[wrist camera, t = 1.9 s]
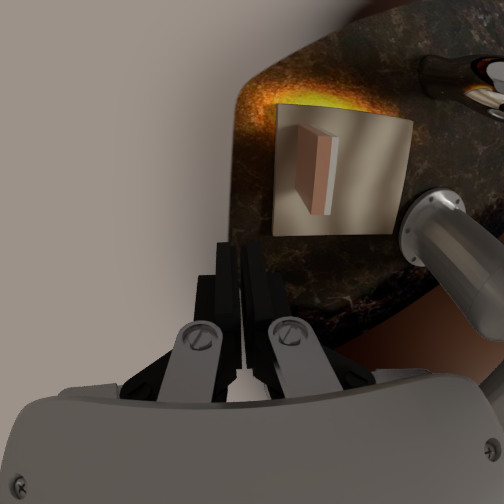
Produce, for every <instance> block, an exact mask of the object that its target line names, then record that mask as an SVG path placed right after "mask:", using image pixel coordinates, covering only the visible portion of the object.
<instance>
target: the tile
mask: <svg viewBox="0 0 504 504" xmlns="http://www.w3.org/2000/svg"><path fill="white" fill-rule="evenodd" d="M338 145H339V137H337V136H336V135H334V134H332V133H330V132H328V131H326V130H324V129H322V128H320V127H318V126H316V125H305V124H298V139H297V157H296V173H295V187H294V188H295V189H296V191H297V192H298V194H299V196H300V197H301V199H302V201H303V202H304V204H305V206H306V207H307V209H308V211H309V213H310V214H311V215H330V213H331V206H332V198H333V190H334V182H335V174H336V165H337V155H338Z"/></svg>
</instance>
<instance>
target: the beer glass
mask: <svg viewBox="0 0 504 504" xmlns="http://www.w3.org/2000/svg"><path fill="white" fill-rule="evenodd" d="M419 80H420V83H421V86H422V88H423V90H424V91H425V92H426V94H427V95H428V96H430V97H431V98H433V99H435V100H439V101H443V100H452V101H456V102H459V103H461V104H463V105H465V106H467V107H469V108H470V109H472V110H474V111H476V112H478V113H480V114H482V115H484V116H486V117H488V118H491V119H493V120H496V121H499V122H502V123H504V56H501V55H495V54H474V55H469V56H463V57H459V58H445V57H441V56H438V55H429V56H426V57H425V58H424V59H423V60H422V61H421V63H420V66H419Z"/></svg>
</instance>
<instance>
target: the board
mask: <svg viewBox="0 0 504 504" xmlns="http://www.w3.org/2000/svg"><path fill="white" fill-rule="evenodd" d="M298 124H305V125H316V126H318V127H320V128H322V129H324V130H326V131H328V132H330V133H332V134H334V135H336V136H337V137H339V145H338V155H337V165H336V174H335V182H334V190H333V198H332V206H331V213H330V215H311V214H310V213H309V211H308V209H307V207H306V206H305V204H304V202H303V201H302V199H301V197H300V196H299V194H298V192H297V191H296V189H295V188H294V187H295V173H296V157H297V139H298ZM412 128H413V121H411V120H408V119H403V118H398V117H393V116H387V115H382V114H376V113H370V112H363V111H356V110H348V109H340V108H331V107H321V106H310V105H295V104H276V135H275V164H274V190H273V213H272V234H273V236H300V235H352V234H392V233H393V229H394V225H395V221H396V216H397V212H398V208H399V203H400V199H401V194H402V189H403V184H404V179H405V174H406V168H407V162H408V156H409V150H410V143H411V136H412Z"/></svg>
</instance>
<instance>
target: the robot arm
mask: <svg viewBox="0 0 504 504" xmlns="http://www.w3.org/2000/svg"><path fill="white" fill-rule="evenodd" d="M399 247H400V250H401V252H402V254H403V256H404V257H405V258H406V260H407V261H408V262H410V263H411V264H413V265H415V266H421V267H422V266H426V267H427V268H428V269H429V271H430V272H431V273H432V274H433V275H434V277H435V278H436V279H437V280H438V282H439V283H440V284H441V285H442V287H443V288H444V289H445V290H446V292H447V293H448V294H449V296H450V297H451V298H452V299H453V301H454V302H455V303H456V305H457V306H458V307H459V309H460V310H461V311H462V313H463V314H464V315H465V317H466V318H467V320H468V321H469V322H470V324H471V325H472V326H473V328H474V329H475V331H477V333H478V334H479V335H480V336H482V337H483V338H485V339H488V340H491V341H504V245H503V244H502V243H501V242H500V241H498V240H497V239H496V238H495V237H494V236H493V235H492V234H490V233H489V232H488V231H487V230H486V229H484V228H483V227H482V226H481V225H480V224H478V223H477V222H476V221H475V220H473V219H472V218H471V217H470V216H468V215H467V214H466V212H465V206H464V203H463V201H462V199H461V198H460V197H459V195H458V194H456V193H455V192H453V191H452V190H450V189H447V188H434V189H432V190H429V191H427V192H425V193H424V194H422V195H421V196H420V197H419V198H417V199H416V200H415V201H414V203H413V204H412V205H411V206H410V207H409V209H408V211H407V212H406V214H405V216H404V218H403V220H402V223H401V226H400V230H399ZM240 251H241V303H242V316H243V328H244V340H245V352H246V364H247V369H251V368H252V369H253V376H255V377H256V378H257V379H259V380H260V381H261V382H263V383H264V389H265V392H266V395H267V398H268V400H263V401H248V402H226V401H227V393H228V385H229V384H231V383H232V382H233V381H234V380H235V379H236V378H237V376H236V369H242V351H241V318H240V317H241V315H240V298H239V284H238V270H237V255H236V246H231V245H230V242H222V243H217V252H216V275H199V276H198V283H197V292H196V302H195V312H194V322H191V323H188V324H186V325H185V326H184V327H183V328H182V329H181V330H180V331H179V333H178V335H177V338H176V341H175V344H174V347H173V349H172V350H171V351H169V352H168V353H166V354H165V355H164V356H162V357H161V358H159V359H158V360H156V361H155V362H154V363H152V364H151V365H149V366H148V367H146V368H145V369H143V370H142V371H140V372H139V373H138V374H136V375H135V376H133V377H132V378H130V379H129V380H128V381H127V382H125V383H124V385H120V386H117V384H116V383H113V384H104V385H94V386H84V387H71V388H67V389H64V390H63V391H61V392H60V393H59V394H58V396H52V397H47V398H42V399H39V400H36V401H33V402H31V403H29V404H28V405H26V406H25V407H24V408H23V409H22V410H21V412H20V413H19V415H18V417H17V418H16V420H15V423H14V425H13V427H12V430H11V432H10V435H9V438H8V441H7V445H6V448H5V452H4V456H3V460H2V465H1V470H0V504H504V360H503V361H502V362H501V363H500V364H499V365H498V366H497V368H495V370H494V371H492V373H491V374H490V375H489V376H488V377H487V378H486V379H485V380H484V381H483V382H481V383H480V385H479V386H477V384H476V383H475V382H473V381H472V380H470V379H469V378H467V377H464V376H460V375H456V374H446V373H434V374H432V373H431V372H430V371H428V370H426V369H376V371H375V372H371V371H370V370H368V369H366V368H365V367H364V366H362V365H360V364H358V363H356V362H354V361H352V360H350V359H348V358H346V357H344V356H342V355H341V354H339V353H337V352H335V351H333V350H331V349H329V348H327V347H326V346H324V345H322V344H320V343H319V341H318V339H317V337H316V335H315V333H314V331H313V330H312V328H311V326H310V325H309V324H308V323H307V322H305V321H304V320H302V319H300V318H297V317H292V314H291V310H290V306H289V302H288V298H287V295H286V291H285V287H284V283H283V279H282V276H281V273H280V272H275V273H266V272H265V267H264V262H263V257H262V252H261V247H260V242H259V241H250V242H246V245H241V246H240Z"/></svg>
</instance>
